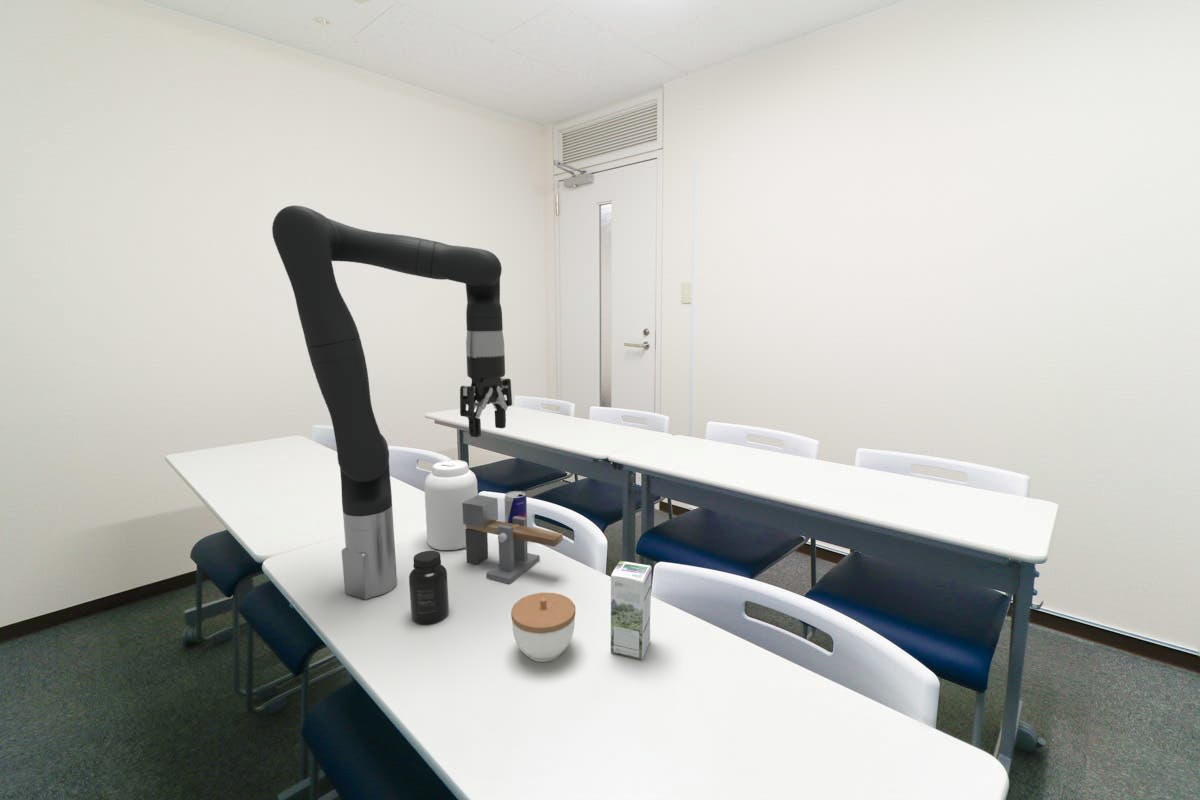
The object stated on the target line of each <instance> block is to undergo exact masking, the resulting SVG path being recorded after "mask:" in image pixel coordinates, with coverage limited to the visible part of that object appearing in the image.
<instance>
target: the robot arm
mask: <svg viewBox="0 0 1200 800" xmlns="http://www.w3.org/2000/svg"><path fill="white" fill-rule="evenodd" d="M271 228H272V229H271V232H272V237H273V238H272V239H273V242H274V244H275V246H276V250H277V252H278V254H279V256H280V259H281V262H282V264H283V267H284V269H285V271H286V274H287V277H288V279H289V282H290V285H291V287H292V291H293V294H294V299H295V303H296V308H297V313H298V317H299V321H300V325H301V328H302V332H303V335H304V341H305V345H306V349H307V352H308V356H309V359H310V363H311V367H312V369H313V372H314V375H315V378H316V381H317V384H318V387H319V390H320V392H321V395H322V397H323V399H324V402H325V404H326V407H327V409H328V413H329V415H330V418H331V423H332V428H333V433H334V434H333V435H334V439H335V446H336V453H337V455H336V456H337V463H338V464H337V465H338V466H339V471H340V472H339V473H340V482H341V485H340V486H341V487H340V488H341V505H342V507H341V508H342V516H343V529H344V542H345V548H342V549H341V560H342V561H341V562H342V569H343V570H342V572H343V573H342V574H343V583H344V594H347V595H349V596H353V597H356V598H359V599H363V600H366V601H367V600H369V599H371V598H374V597H378V596H382V595H385V594H386V593H389V592H391V591H392V590H394V589H395V588H396V586H397V584H398V578H397V576H398V575H397V573H398V572H397V560H396V559H397V557H396V545H395V531H394V530H395V529H394V528H395V527H394V513H393V498H392V495H393V494H392V485H391V484H392V483H391V476H390V475H391V473H390V450H389V447H388V446H389V444H388V442H387V440H386V438H385V437H384V435H382V433H381V431H380V428H379V425H378V423H377V420H376V417H375V414H374V410H373V405H372V399H371V390H370V380H369V373H368V367H367V363H366V356H365V351H364V348H363V344H362V340H361V337H360V333H359V330H358V327H357V324H356V321H355V320H354V317H353V315H352V313H351V311H350V310H349V307H348V305H347V303H346V301H345V300H344V298H343V296H342V294H341V292H340V290H339V286H338V283H337V280H336V276H335V273H334V267H333V262H345V263H346V262H347V263H356V264H362V265H363V264H364V265H369V266H374V267H378V268H383V269H386V270H390V271H394V272H398V273H401V274H406V275H412V276H418V277H422V278H425V279H427V278H428V279H434V280H441V281H442V280H448V281H453V282H457V283H462V284H464V285H465V289H466V290H465V291H466V301H467V304H466V309H465V310H466V312H465V313H466V314H465V315H466V317H465V318H466V338H465V345H466V348H465V351H466V375H467V377H469V378H470V379H471V384H470V385H461V386H460V388H459V401H460V402H459V412H460V413H459V415H460V416H461V417H464V418H467V419H468V431H469V432H468V433H469V436H470V437H474V438H479V437H481V436H482V427H481V425H482V424H481V418H480V417H481V415H482V412H483V410H485V409H486V407H487V405H490V404H492V405H493V407H494V426H495V428H496V429H505V428H506V426H507V424H506V422H507V420H506V419H507V417H506V415H507V414H506V412H507V410H508V408H509V407H511V406H512V405H513V397H512V381H511V379H510V378H505V376H506V360H505V358H506V356H505V340H504V332H503V330H504V329H503V327H504V326H503V312H502V311H503V310H502V306H501V275H502V271H503V270H502V264H501V263H502V262H501V261H500V259H499V258H498V256H497V255H496V254H495V253H493V252H491V251H490V250H486V249H482V248H476V247H469V246H461V245H451V244H446V243H445V242H444V243H443V242H440V241H435V240H431V239H426V238H425V239H424V238H420V237H415V236H410V235H403V234H395V233H384V232H377V231H370V230H365V229H361V228H358V227H354V226H350V225H347V224H345V223H342V222H340V221H336V220H334V219H330V218H328V217H326V216H325V215H324V214H322V213H320V212H318V211H316V210H314V209H311V208H309V207H305V206H302V205H289V206H285V207H283V208H282V209H281V210H279V211H278V212H277V213H276V215H275V217H274V220H273V222H272V227H271ZM503 377H504V378H503ZM505 396H506V397H505ZM467 406H468V407H467Z"/></svg>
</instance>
